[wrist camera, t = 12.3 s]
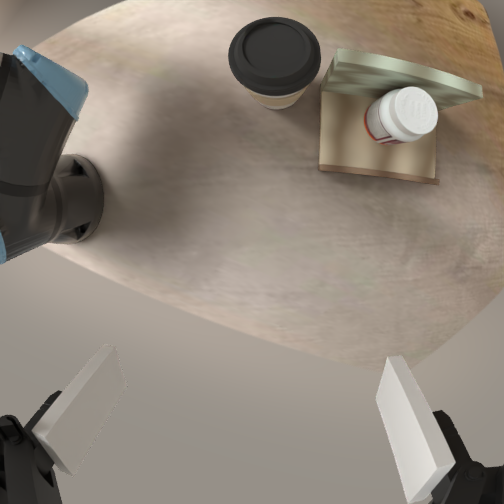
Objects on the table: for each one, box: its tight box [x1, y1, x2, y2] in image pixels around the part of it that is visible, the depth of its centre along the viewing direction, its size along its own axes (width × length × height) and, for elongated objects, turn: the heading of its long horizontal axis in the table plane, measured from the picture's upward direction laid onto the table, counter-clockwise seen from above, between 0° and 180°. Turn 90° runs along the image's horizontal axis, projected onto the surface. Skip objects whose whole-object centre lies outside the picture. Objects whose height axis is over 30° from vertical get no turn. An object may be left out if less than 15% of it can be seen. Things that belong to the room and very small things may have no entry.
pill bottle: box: [363, 87, 438, 145], centre depth 29 cm, size 6×6×11 cm
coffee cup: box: [228, 17, 321, 109], centre depth 29 cm, size 9×9×15 cm
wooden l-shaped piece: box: [318, 48, 483, 185], centre depth 30 cm, size 17×12×14 cm
